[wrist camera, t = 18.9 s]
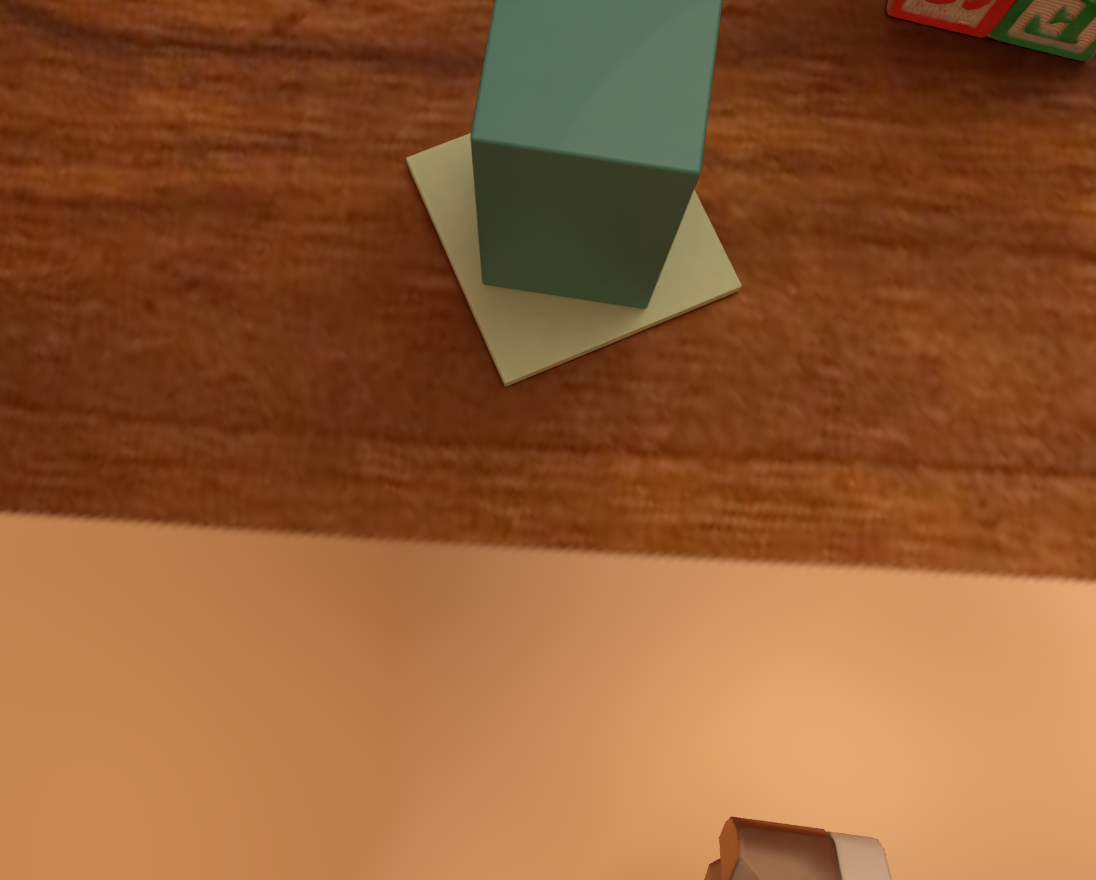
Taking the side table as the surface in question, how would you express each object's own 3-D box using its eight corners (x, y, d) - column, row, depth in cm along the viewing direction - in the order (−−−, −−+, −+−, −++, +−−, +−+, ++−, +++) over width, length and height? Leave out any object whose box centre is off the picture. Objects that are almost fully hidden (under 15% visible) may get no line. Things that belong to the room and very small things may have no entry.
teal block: (647, 310, 27) (701, 174, 20) (481, 285, 27) (469, 138, 20) (667, 157, 28) (726, -31, 20) (507, 133, 28) (505, -65, 20)
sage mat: (504, 387, 27) (505, 383, 27) (406, 163, 28) (405, 157, 28) (739, 291, 28) (742, 285, 28) (634, 77, 29) (635, 69, 29)
